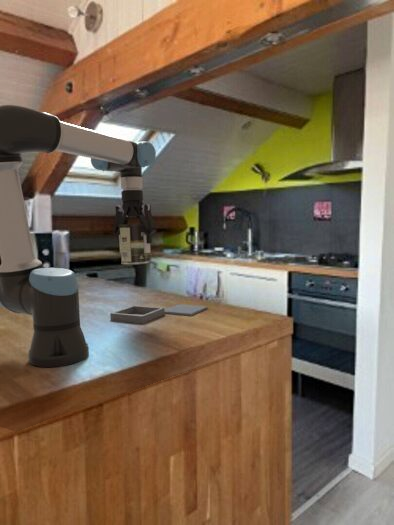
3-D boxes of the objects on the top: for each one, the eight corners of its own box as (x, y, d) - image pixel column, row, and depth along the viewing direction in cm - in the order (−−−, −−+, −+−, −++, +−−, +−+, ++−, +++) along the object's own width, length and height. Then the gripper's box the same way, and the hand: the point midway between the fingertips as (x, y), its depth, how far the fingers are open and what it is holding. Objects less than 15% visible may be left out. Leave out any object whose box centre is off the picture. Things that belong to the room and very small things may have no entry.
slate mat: (191, 315, 154) (191, 313, 154) (161, 313, 160) (161, 311, 160) (207, 308, 166) (207, 306, 166) (178, 306, 172) (178, 304, 172)
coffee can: (153, 261, 157) (151, 223, 155) (144, 264, 147) (142, 223, 145) (127, 261, 159) (125, 223, 157) (116, 264, 149) (114, 224, 147)
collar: (142, 323, 146) (142, 316, 145) (110, 320, 152) (110, 313, 152) (164, 314, 158) (164, 307, 158) (134, 311, 164) (133, 305, 164)
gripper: (164, 188, 148) (167, 252, 150) (113, 192, 159) (116, 251, 161) (152, 187, 142) (155, 254, 144) (100, 191, 152) (103, 253, 154)
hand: (135, 252), depth 152 cm, fingers closed on coffee can, 10 cm apart
